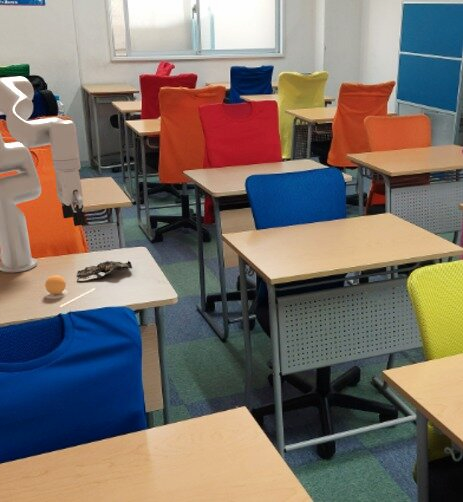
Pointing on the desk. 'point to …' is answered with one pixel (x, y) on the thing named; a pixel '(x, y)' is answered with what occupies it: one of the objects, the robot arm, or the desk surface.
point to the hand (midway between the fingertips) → (74, 221)
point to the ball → (55, 284)
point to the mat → (64, 293)
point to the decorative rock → (102, 269)
